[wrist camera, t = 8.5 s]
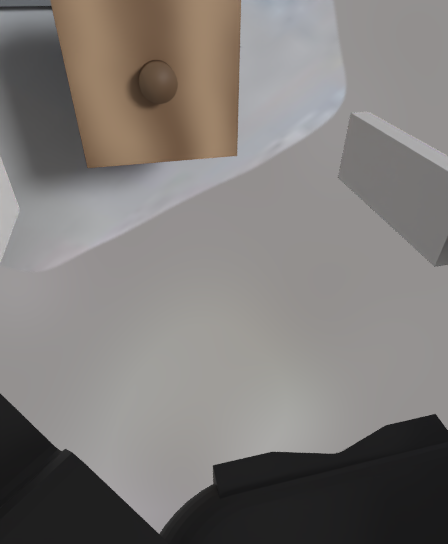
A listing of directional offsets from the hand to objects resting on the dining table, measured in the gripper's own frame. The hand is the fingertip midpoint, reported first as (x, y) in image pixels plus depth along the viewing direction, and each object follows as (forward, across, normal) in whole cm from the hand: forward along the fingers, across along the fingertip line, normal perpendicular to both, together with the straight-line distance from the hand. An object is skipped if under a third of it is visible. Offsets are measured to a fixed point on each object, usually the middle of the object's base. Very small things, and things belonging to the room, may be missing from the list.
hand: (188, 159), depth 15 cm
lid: (+18, 0, 0) cm, 18 cm away
